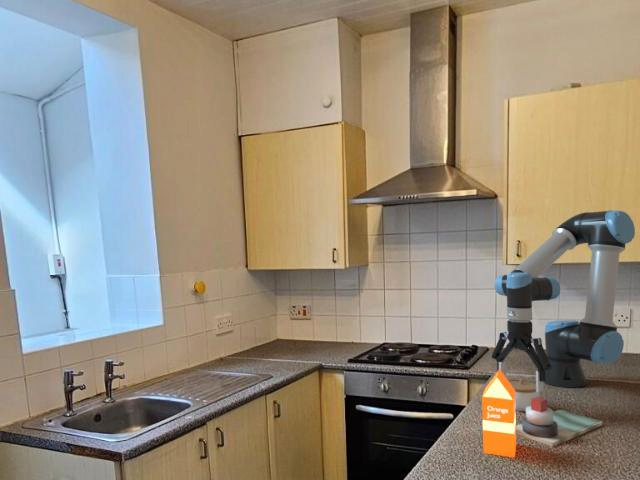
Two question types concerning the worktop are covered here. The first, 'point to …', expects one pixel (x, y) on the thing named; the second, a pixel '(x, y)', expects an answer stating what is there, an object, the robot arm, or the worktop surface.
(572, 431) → the game board
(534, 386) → the lidded jar
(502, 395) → the orange juice
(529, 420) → the dome
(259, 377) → the worktop surface
